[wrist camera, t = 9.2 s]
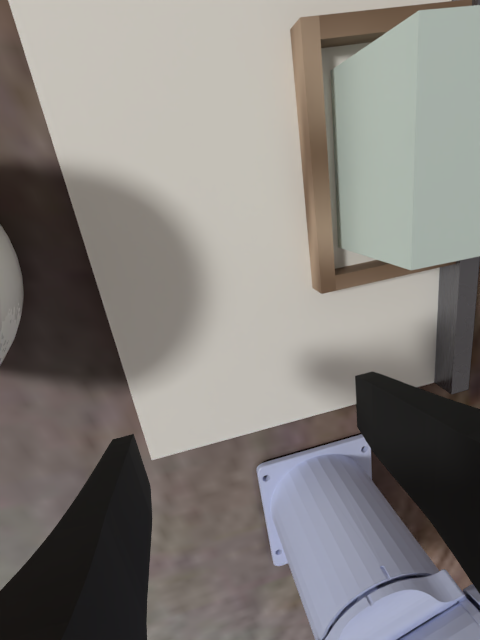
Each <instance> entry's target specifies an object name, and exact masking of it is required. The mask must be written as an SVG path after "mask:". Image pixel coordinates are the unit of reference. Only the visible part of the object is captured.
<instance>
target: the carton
mask: <svg viewBox="0 0 480 640" xmlns="http://www.w3.org/2000/svg"><path fill="white" fill-rule="evenodd" d="M331 93H332V117H333V140H334V164H335V187H336V211H337V234H338V247H339V248H342V249H345V250H348V251H351V252H355V253H358V254H361V255H364V256H367V257H370V258H373V259H377V260H380V261H383V262H386V263H389V264H392V265H395V266H399V267H402V268H405V269H408V270H416V269H420V268H425V267H430V266H435V265H440V264H445V263H449V262H454V261H459V260H464V259H469V258H474V257H479V256H480V5H474V6H463V7H451V8H440V9H429V10H419V11H417V12H416V13H414V14H413V15H411V16H410V17H408V18H407V19H406V20H404V21H403V22H401V23H400V24H398V25H397V26H395V27H394V28H392V29H391V30H389V31H388V32H386V33H385V34H383V35H382V36H381V37H379V38H378V39H376V40H375V41H373V42H372V43H370V44H369V45H367V46H366V47H364V48H363V49H361V50H360V51H358V52H357V53H356V54H354V55H353V56H351V57H350V58H348V59H347V60H345V61H344V62H342V63H341V64H339V65H338V66H336V67H335V68H333V69H332V70H331Z"/></svg>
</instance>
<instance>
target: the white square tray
mask: <svg viewBox="0 0 480 640" xmlns="http://www.w3.org/2000/svg"><path fill="white" fill-rule="evenodd" d="M8 1H9V4H10V7H11V10H12V14H13V17H14V20H15V23H16V26H17V30H18V33H19V36H20V39H21V42H22V46H23V49H24V52H25V55H26V59H27V62H28V65H29V68H30V71H31V75H32V78H33V81H34V84H35V87H36V91H37V94H38V97H39V100H40V103H41V107H42V110H43V113H44V116H45V119H46V123H47V126H48V129H49V132H50V135H51V139H52V142H53V145H54V148H55V151H56V155H57V158H58V161H59V164H60V167H61V171H62V174H63V177H64V180H65V184H66V187H67V190H68V193H69V196H70V200H71V203H72V206H73V209H74V212H75V216H76V219H77V222H78V225H79V228H80V232H81V235H82V238H83V241H84V244H85V248H86V251H87V254H88V257H89V260H90V264H91V267H92V270H93V273H94V276H95V280H96V283H97V286H98V289H99V292H100V296H101V299H102V302H103V305H104V309H105V312H106V315H107V318H108V321H109V325H110V328H111V331H112V334H113V337H114V341H115V344H116V347H117V350H118V353H119V357H120V360H121V363H122V366H123V369H124V373H125V376H126V379H127V382H128V385H129V389H130V392H131V395H132V398H133V401H134V405H135V408H136V411H137V414H138V417H139V421H140V424H141V427H142V430H143V434H144V437H145V440H146V443H147V446H148V450H149V453H150V456H151V459H152V460H154V459H158V458H161V457H165V456H169V455H172V454H176V453H180V452H183V451H187V450H191V449H194V448H198V447H201V446H205V445H209V444H212V443H216V442H220V441H223V440H227V439H231V438H234V437H238V436H241V435H245V434H249V433H252V432H256V431H260V430H263V429H267V428H271V427H274V426H278V425H281V424H285V423H289V422H292V421H296V420H300V419H303V418H307V417H311V416H314V415H318V414H321V413H325V412H329V411H332V410H336V409H340V408H343V407H347V406H351V405H354V404H356V385H355V376H357V375H360V374H364V373H368V372H376V373H379V374H382V375H385V376H388V377H390V378H393V379H396V380H398V381H401V382H404V383H406V384H409V385H411V386H414V387H420V386H423V385H427V384H431V383H436V384H437V385H439V386H440V387H442V388H443V389H445V390H446V391H447V392H449V393H450V394H454V393H458V392H461V391H465V390H468V389H469V377H470V366H471V354H472V342H473V331H474V319H475V308H476V296H477V284H478V273H479V261H480V256H479V257H474V258H469V259H464V260H459V261H454V262H449V263H445V264H440V265H435V266H430V267H425V268H420V269H416V270H408V269H405V268H402V267H399V266H395V265H392V264H389V263H386V262H383V261H380V260H377V259H373V258H370V257H367V256H364V255H361V254H358V253H355V252H351V251H348V250H345V249H342V248H339V247H338V234H337V211H336V187H335V164H334V140H333V117H332V93H331V70H332V69H333V68H335V67H336V66H338V65H339V64H341V63H342V62H344V61H345V60H347V59H348V58H350V57H351V56H353V55H354V54H356V53H357V52H358V51H360V50H361V49H363V48H364V47H366V46H367V45H369V44H370V43H372V42H373V41H375V40H376V39H378V38H379V37H381V36H382V35H383V34H385V33H386V32H388V31H389V30H391V29H392V28H394V27H395V26H397V25H398V24H400V23H401V22H403V21H404V20H406V19H407V18H408V17H410V16H411V15H413V14H414V13H416V12H417V11H419V10H429V9H440V8H451V7H463V6H474V5H480V0H8Z"/></svg>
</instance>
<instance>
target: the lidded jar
mask: <svg viewBox="0 0 480 640" xmlns="http://www.w3.org/2000/svg"><path fill="white" fill-rule="evenodd" d="M23 297H24V292H23V279H22V273H21V269H20V265H19V262H18V258H17V255H16V253H15V251H14V248H13V246H12V244H11V241H10V239H9V237H8V235H7V234H6V232H5V231H4V229H3V227H2V226H1V224H0V365H1V364H2V362H3V360H4V358H5V356H6V354H7V352H8V350H9V348H10V346H11V344H12V343H13V341H14V339H15V335H16V332H17V329H18V325H19V322H20V318H21V314H22V306H23Z"/></svg>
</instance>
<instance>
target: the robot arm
mask: <svg viewBox="0 0 480 640" xmlns="http://www.w3.org/2000/svg"><path fill="white" fill-rule="evenodd" d="M355 385H356V406H357V427H358V429H359V430H360V432H361V435H357V436H354V437H351V438H347V439H344V440H340V441H337V442H333V443H330V444H326V445H323V446H319V447H316V448H312V449H309V450H305V451H302V452H299V453H295V454H292V455H288V456H285V457H281V458H278V459H274V460H271V461H267V462H264V463H261V464H260V465H259V466H258V467H257V476H258V481H259V487H260V493H261V498H262V504H263V509H264V515H265V520H266V526H267V531H268V537H269V543H270V548H271V554H272V559H273V562H274V565H276V566H281V565H284V564H287V563H288V564H289V567H290V570H291V572H292V575H293V578H294V581H295V584H296V586H297V589H298V592H299V595H300V598H301V601H302V603H303V606H304V609H305V612H306V615H307V618H308V620H309V623H310V626H311V629H312V632H313V634H314V637H315V640H480V409H478V408H475V407H471V406H468V405H465V404H462V403H459V402H456V401H453V400H450V399H447V398H444V397H441V396H438V395H435V394H433V393H430V392H427V391H425V390H422V389H419V388H417V387H414V386H411V385H409V384H406V383H404V382H401V381H398V380H396V379H393V378H390V377H388V376H385V375H382V374H379V373H376V372H368V373H364V374H360V375H357V376H355ZM362 447H364V448H362ZM371 449H372V451H373V452H374V454H375V455H376V456H377V457H378V459H379V460H380V461H381V462H382V463H383V465H384V466H385V467H386V468H387V470H388V471H389V472H390V473H391V474H392V476H393V477H394V478H395V479H396V480H397V481H398V483H399V484H400V485H401V486H402V487H403V489H404V490H405V491H406V492H407V493H408V495H409V496H410V497H411V498H412V499H413V501H414V502H415V503H416V504H417V505H418V506H419V508H420V509H421V510H422V511H423V513H424V514H425V515H426V516H427V518H428V519H429V520H430V522H431V523H432V524H433V526H434V527H435V528H436V530H437V531H438V533H439V534H440V536H441V537H442V539H443V540H444V541H445V543H446V544H447V546H448V547H449V549H450V550H451V552H452V553H453V554H454V556H455V557H456V559H457V560H458V562H459V563H460V565H461V566H462V568H463V569H464V571H465V573H466V574H467V576H468V577H469V579H470V580H471V582H472V583H473V585H470V586H468V587H466V588H465V589H463V592H462V590H461V589H460V588H459V587H458V585H457V584H456V583H455V581H454V580H453V579H452V577H451V576H450V575H449V573H448V572H447V571H446V570H445V569H443V570H441V571H439V570H438V569H437V567H436V566H435V565H434V563H433V562H432V561H431V559H430V558H429V557H428V555H427V554H426V552H425V551H424V550H423V548H422V547H421V546H420V544H419V543H418V542H417V540H416V539H415V538H414V536H413V535H412V534H411V532H410V531H409V530H408V528H407V527H406V526H405V524H404V523H403V522H402V520H401V519H400V517H399V516H398V515H397V513H396V512H395V511H394V509H393V508H392V507H391V505H390V504H389V503H388V501H387V500H386V499H385V497H384V496H383V495H382V493H381V492H380V491H379V489H378V488H377V486H376V485H375V484H374V482H373V481H372V465H371ZM265 475H268V476H266V477H264V476H265ZM151 531H152V505H151V489H150V483H149V480H148V477H147V474H146V471H145V468H144V465H143V462H142V459H141V456H140V453H139V450H138V446H137V443H136V440H135V437H134V434H132V435H128V436H125V437H121V438H117V439H113V440H112V442H111V443H110V445H109V446H108V448H107V449H106V451H105V453H104V454H103V456H102V458H101V459H100V461H99V463H98V464H97V466H96V468H95V469H94V471H93V472H92V474H91V476H90V477H89V479H88V480H87V482H86V483H85V485H84V487H83V488H82V490H81V491H80V493H79V494H78V496H77V497H76V499H75V500H74V502H73V503H72V505H71V506H70V507H69V509H68V510H67V512H66V513H65V514H64V516H63V517H62V519H61V520H60V521H59V523H58V524H57V526H56V527H55V528H54V530H53V531H52V532H51V533H50V535H49V536H48V537H47V538H46V540H45V541H44V542H43V543H42V545H41V546H40V547H39V548H38V549H37V551H36V552H35V553H34V554H33V555H32V557H31V558H30V559H29V560H28V561H27V562H26V564H25V565H24V566H23V567H22V568H21V569H20V570H19V571H18V573H17V574H16V575H15V576H14V577H13V578H12V579H11V580H10V581H9V582H8V583H7V584H6V585H5V586H4V587H3V589H2V590H1V591H0V640H147V625H146V618H147V593H148V578H149V562H150V547H151Z"/></svg>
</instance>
